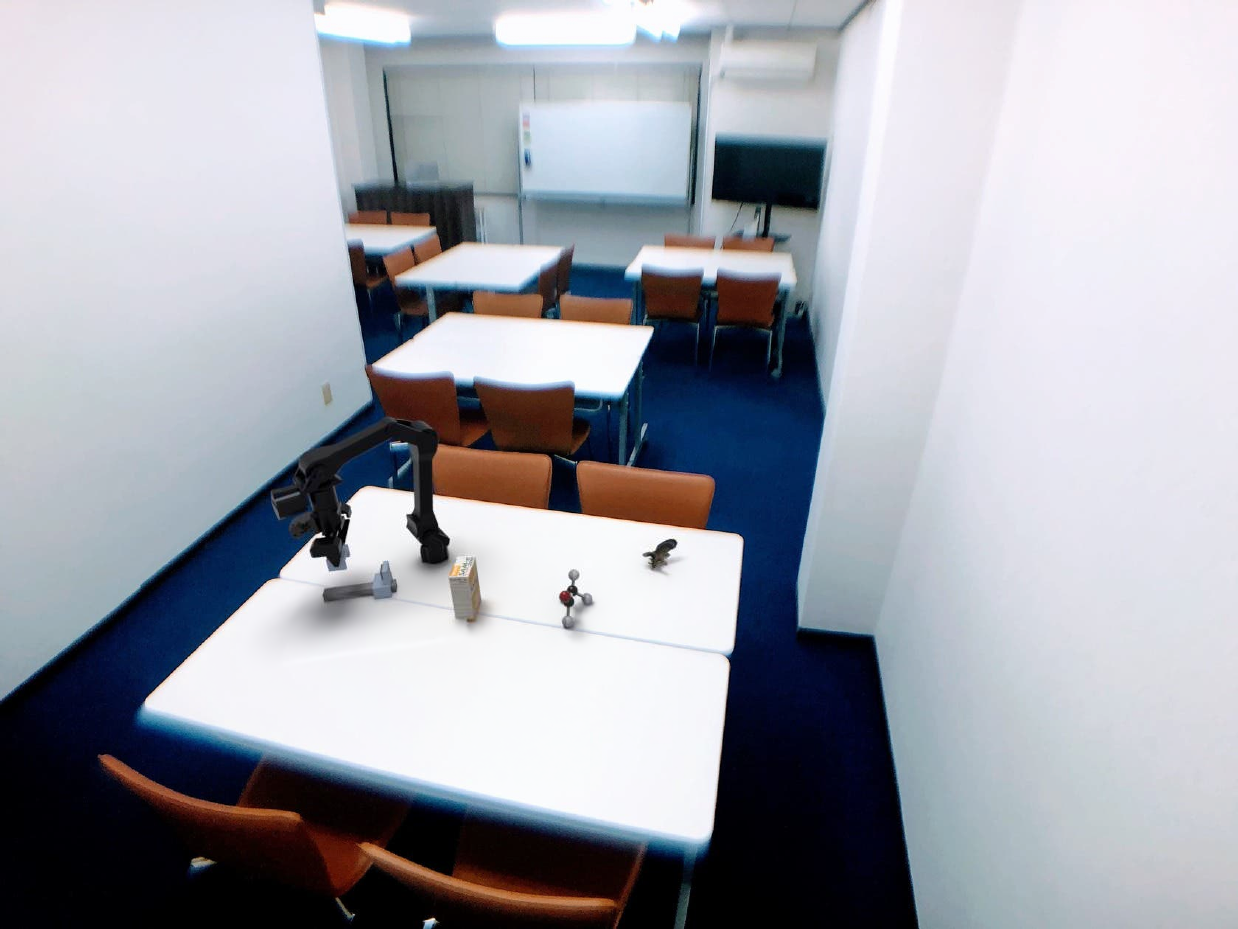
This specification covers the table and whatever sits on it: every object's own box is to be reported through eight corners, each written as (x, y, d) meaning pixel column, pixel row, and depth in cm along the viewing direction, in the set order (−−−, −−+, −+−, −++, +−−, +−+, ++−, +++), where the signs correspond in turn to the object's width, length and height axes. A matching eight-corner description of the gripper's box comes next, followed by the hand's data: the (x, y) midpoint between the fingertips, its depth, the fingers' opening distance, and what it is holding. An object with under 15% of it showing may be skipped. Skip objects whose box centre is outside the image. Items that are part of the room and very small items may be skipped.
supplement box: (475, 621, 162) (468, 577, 156) (455, 621, 162) (447, 577, 156) (482, 598, 170) (476, 555, 163) (462, 598, 170) (456, 555, 163)
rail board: (400, 579, 177) (398, 569, 175) (398, 601, 169) (396, 592, 168) (327, 589, 174) (324, 579, 172) (321, 612, 166) (318, 602, 165)
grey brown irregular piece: (672, 572, 176) (684, 548, 182) (656, 552, 174) (669, 528, 180) (650, 577, 181) (662, 553, 187) (634, 558, 178) (647, 534, 185)
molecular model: (593, 599, 169) (591, 564, 164) (583, 633, 158) (581, 597, 153) (560, 596, 170) (558, 562, 165) (549, 630, 160) (545, 594, 154)
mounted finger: (393, 581, 174) (388, 558, 171) (391, 596, 169) (386, 573, 166) (377, 583, 174) (371, 560, 170) (374, 599, 169) (369, 575, 165)
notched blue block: (350, 554, 169) (344, 530, 166) (346, 569, 164) (340, 544, 160) (333, 556, 168) (326, 532, 165) (328, 571, 163) (322, 546, 160)
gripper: (296, 487, 165) (311, 540, 172) (277, 530, 149) (295, 587, 156) (345, 482, 167) (358, 535, 174) (331, 524, 150) (346, 581, 158)
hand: (339, 558), depth 166 cm, fingers closed on notched blue block, 6 cm apart
